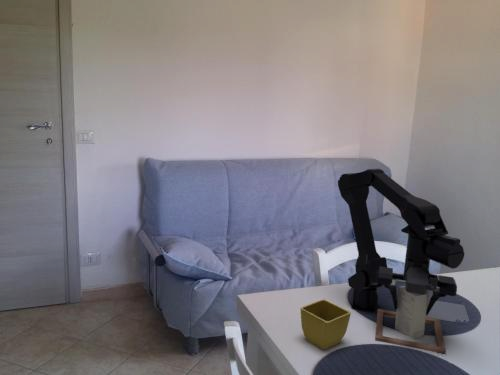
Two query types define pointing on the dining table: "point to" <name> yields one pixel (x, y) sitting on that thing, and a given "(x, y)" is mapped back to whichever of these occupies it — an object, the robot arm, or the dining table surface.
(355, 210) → the robot arm
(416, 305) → the skincare box
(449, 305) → the grey square plate
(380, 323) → the walnut holder frame
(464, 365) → the dining table surface
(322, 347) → the flower pot
